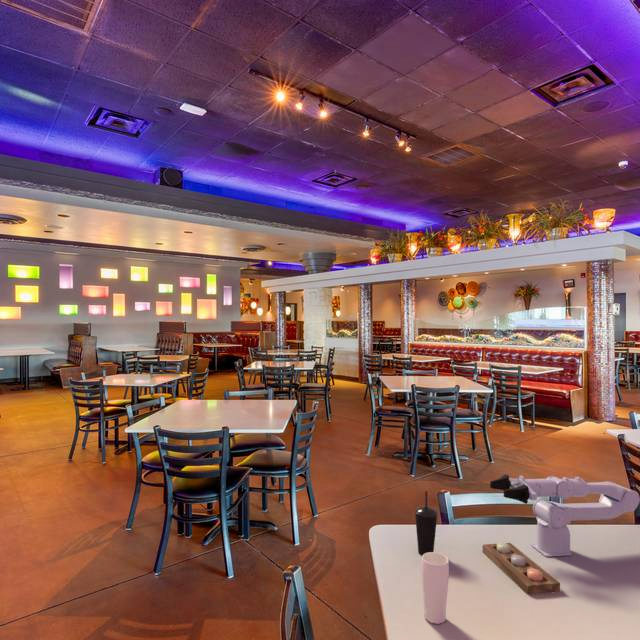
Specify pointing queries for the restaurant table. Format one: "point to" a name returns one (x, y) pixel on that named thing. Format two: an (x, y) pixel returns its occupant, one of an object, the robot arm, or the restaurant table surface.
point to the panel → (521, 570)
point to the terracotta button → (534, 575)
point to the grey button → (518, 560)
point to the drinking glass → (435, 586)
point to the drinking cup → (425, 527)
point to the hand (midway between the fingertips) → (497, 489)
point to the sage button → (503, 548)
